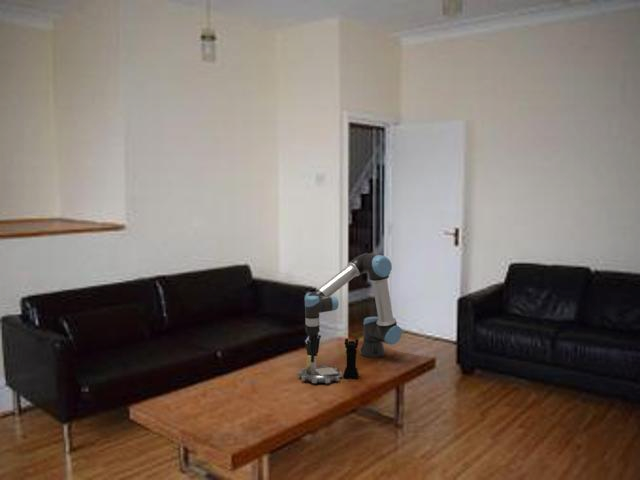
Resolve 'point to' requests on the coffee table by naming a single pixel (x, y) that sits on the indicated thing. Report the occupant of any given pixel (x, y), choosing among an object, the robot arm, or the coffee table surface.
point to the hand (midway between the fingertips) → (313, 367)
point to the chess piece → (351, 360)
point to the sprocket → (319, 373)
